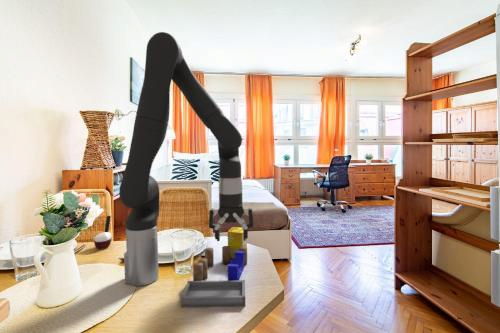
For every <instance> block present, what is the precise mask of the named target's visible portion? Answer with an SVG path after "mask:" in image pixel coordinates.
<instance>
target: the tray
mask: <svg viewBox="0 0 500 333" xmlns="http://www.w3.org/2000/svg"><path fill="white" fill-rule="evenodd" d="M180 300H181V301H180V302H181V305H180V306H181V308H203V307H204V308H206V307H207V308H209V307H212V308H214V307H220V308H221V307H246V280H245V279H244V280H243V279H242V280H240V279H239V280H228V279H226V280H203V281H193V280H187V283H186V285H185V288H184V290H183V292H182V296H181V298H180Z"/></svg>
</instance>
